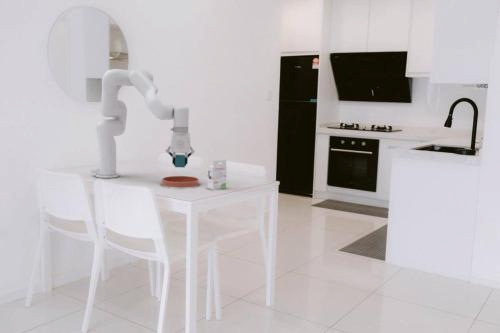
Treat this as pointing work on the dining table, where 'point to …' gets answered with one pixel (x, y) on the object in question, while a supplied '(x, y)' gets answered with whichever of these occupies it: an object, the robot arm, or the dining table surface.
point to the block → (179, 160)
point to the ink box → (217, 175)
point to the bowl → (180, 181)
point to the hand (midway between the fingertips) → (179, 165)
